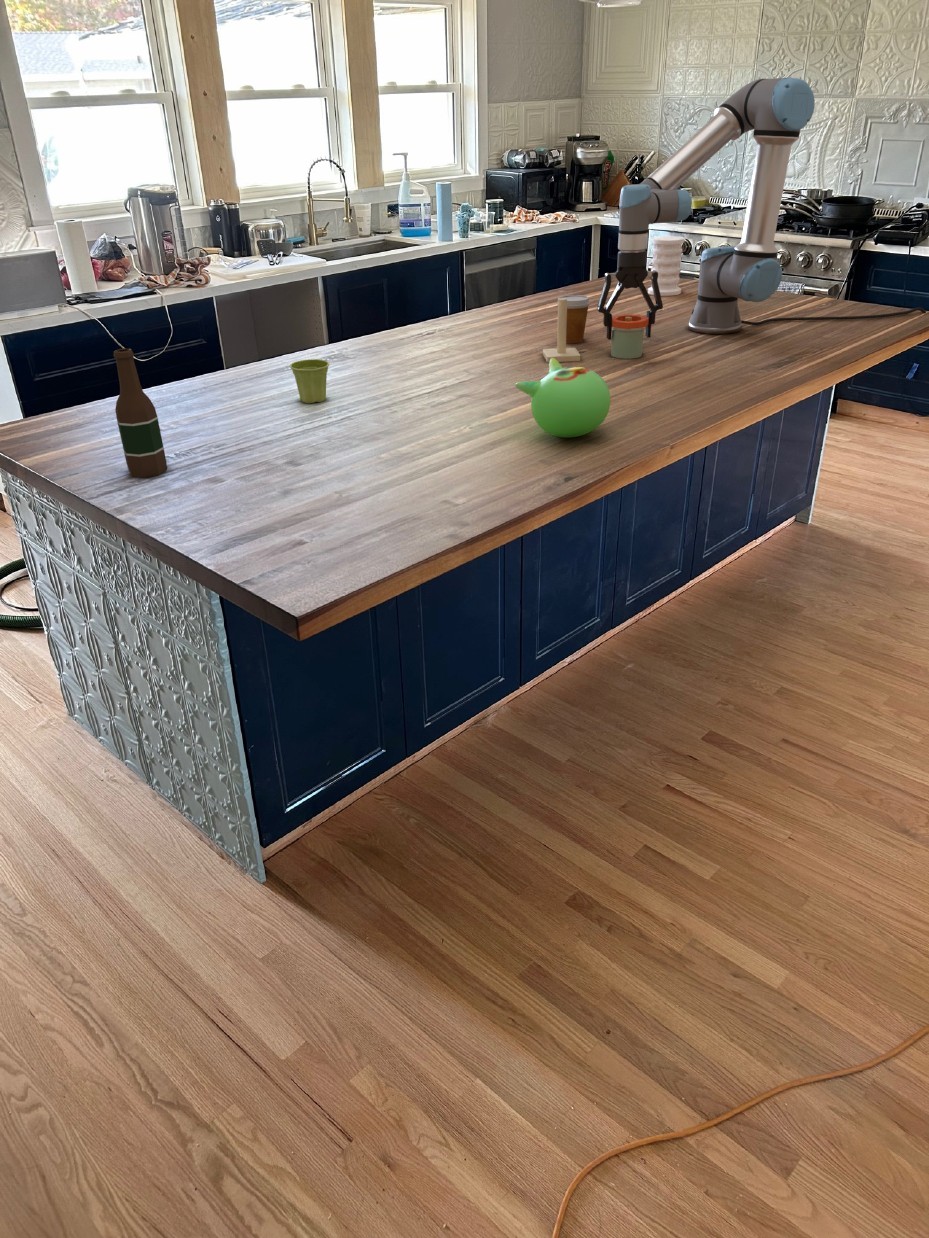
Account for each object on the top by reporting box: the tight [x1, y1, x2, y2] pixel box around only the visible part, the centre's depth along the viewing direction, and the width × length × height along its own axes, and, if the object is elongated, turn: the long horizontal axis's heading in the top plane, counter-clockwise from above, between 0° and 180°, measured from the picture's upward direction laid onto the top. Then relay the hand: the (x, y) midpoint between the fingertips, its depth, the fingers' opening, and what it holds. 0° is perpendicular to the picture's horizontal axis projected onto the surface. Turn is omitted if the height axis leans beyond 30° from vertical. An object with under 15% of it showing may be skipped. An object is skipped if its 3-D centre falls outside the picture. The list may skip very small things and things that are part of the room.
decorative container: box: [647, 235, 685, 297], centre depth 322 cm, size 12×12×18 cm
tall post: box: [542, 297, 581, 364], centre depth 249 cm, size 9×9×16 cm
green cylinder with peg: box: [610, 317, 645, 360], centre depth 251 cm, size 8×8×10 cm
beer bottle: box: [113, 347, 168, 479], centre depth 178 cm, size 8×8×24 cm
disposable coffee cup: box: [556, 294, 591, 344], centre depth 266 cm, size 10×10×12 cm
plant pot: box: [289, 358, 330, 404], centre depth 222 cm, size 9×9×9 cm
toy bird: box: [514, 358, 611, 439], centre depth 193 cm, size 18×17×15 cm
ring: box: [612, 313, 649, 329], centre depth 249 cm, size 10×10×2 cm
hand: (628, 337), depth 251 cm, fingers closed on ring, 10 cm apart
